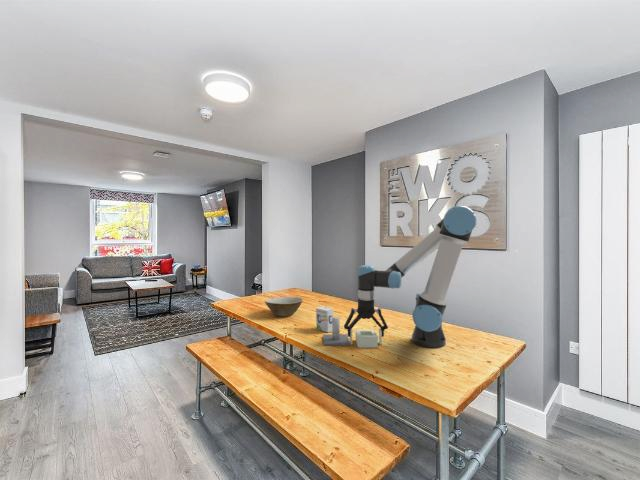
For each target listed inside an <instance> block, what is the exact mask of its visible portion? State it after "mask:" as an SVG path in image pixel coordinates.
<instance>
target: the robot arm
mask: <svg viewBox="0 0 640 480" xmlns="http://www.w3.org/2000/svg"><path fill="white" fill-rule="evenodd" d="M476 225H477V216H476V214H475V212H474V211H473V209H471V208H469V206H468V207H467V206H465V205H455V206H452V207H451V208H449V209H447V210H446V212H445V214H444V216H443V218H442V219H441V220H440V221H439V222H438V223H437V224H436V225H435V228H434V229H433V230H432V231H431V232H430V233H429V234H427V236H425V237H424V238H423V239H421V240H420V241H419V242H418V243H417V244H415V245H414V246H413V247H412V248H411V249H409V250H408V251H407V252H406V253H405V254H404V255H402V256H401V258H399V259H398V260H397V261H395V262H394V263H393V264H391V265H390V266H389V267H388V268H387V269H386V270H377V269H375V266H374V265H371V264H370V265H368V264H365V265H364V264H362V265H359V267H358V274H357V286H358V287H357V298H358V299H357V309H355V308H352V307H351V308H350V313H349V316H348V317H347V319H346V321H345V322H344V325H343V328H344V330H347V335H348V338H349V343H350V345H353V327H355V326H356V324H357V323H359V321H360V320H361V319H362V320H366V319H367V320H370V319H371V320H373V321H374V323H375V324H376V325H377V326H378V345H382V344H383V339H382V338H384V337H385V330H388V329H389V326H388V325H387V322H386V320H385V319H384V316H383V315H382V310H381V308H380V307H378V308H376V309H375V299H374V298H375V288H387V289H401V286H402V279H403V277H405V276H406V275H407V274H408V273H409V272H411V271H412V270H413V269H414V268H415V267H417V266H418V265H419V264H420V263H422V262H423V261H424V260H426V259H427V258H428V257H429V256H430V255H432V254H433V253H434V252H436V254H435V258H434V261H433V264H432V266H431V269H430V273H429V275H428V276H429V277H428V280H427V282H426V285H425V288H424V291H423V292H418V293H416V295H415V307H414V310H413V311H412V321H413V323H414V324H415V325H414V329H413V331H412V335H411V341H412V343H414V344H415V345H418V346H421V347H425V348H442V347H444V346H446V344H447V343H446V340H447V339H446V336H445V332H444V330H443V325H442V324H443V317H444V315H445V310H446V308H447V305H448V304H447V303H448V302H447V301H446V295H447V293H448V290H449V287H450V285H451V282H452V278H453V277H454V276H453V275H454V272H455V270H456V267H457V263H458V260H459V257H460V254H461V252H462V248H463V246H464V245H465V244H467V243H469V241H470V238H471V235H472V233H473V230H474V229H475V228H476ZM436 250H437V251H436ZM356 313H357V316H356V317H355V318H354V315H355V314H356ZM375 313H376V314H377V315H378V316H379V318H380V320H381V322H382V324H383V325H382V324H381V323H380V322H379V321H378V319H377V318H376V317H375V316H374V315H375ZM353 318H354V319H353ZM352 319H353V320H352Z"/></svg>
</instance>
